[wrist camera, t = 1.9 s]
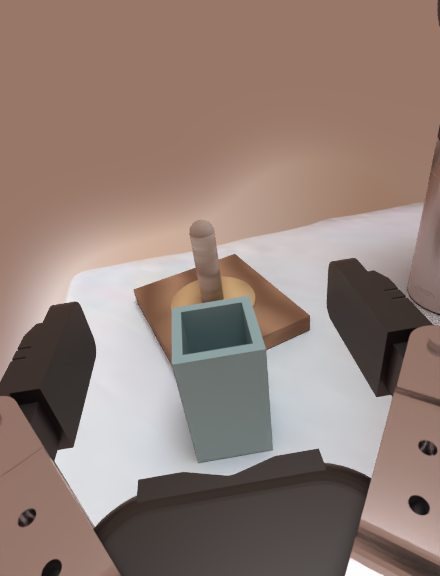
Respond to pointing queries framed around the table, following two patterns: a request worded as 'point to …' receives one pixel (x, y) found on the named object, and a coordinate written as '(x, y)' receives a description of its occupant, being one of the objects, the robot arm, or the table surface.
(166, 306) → the peg board
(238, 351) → the collar
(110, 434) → the table surface
